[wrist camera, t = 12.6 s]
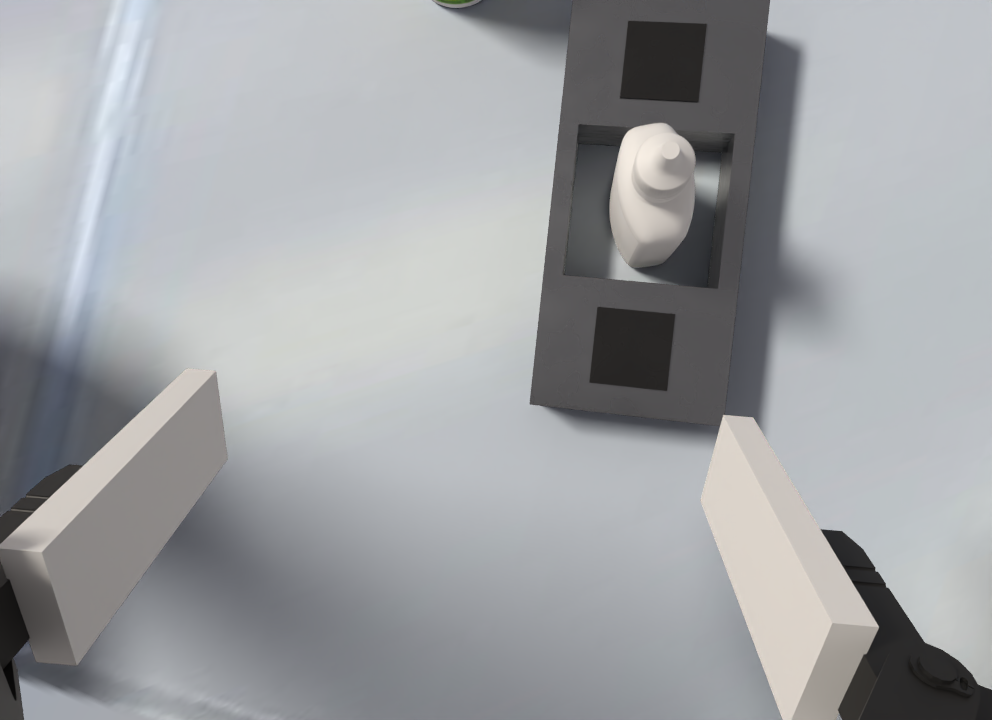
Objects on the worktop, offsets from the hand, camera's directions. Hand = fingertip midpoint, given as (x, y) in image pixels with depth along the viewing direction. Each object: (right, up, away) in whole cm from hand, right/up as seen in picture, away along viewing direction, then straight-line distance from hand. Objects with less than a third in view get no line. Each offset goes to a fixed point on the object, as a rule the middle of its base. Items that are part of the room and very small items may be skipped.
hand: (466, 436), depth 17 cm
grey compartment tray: (+9, +10, +20) cm, 24 cm away
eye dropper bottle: (+9, +10, +20) cm, 24 cm away
